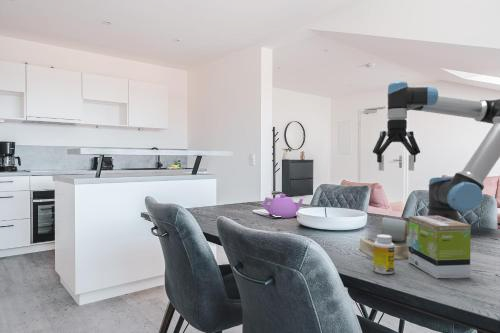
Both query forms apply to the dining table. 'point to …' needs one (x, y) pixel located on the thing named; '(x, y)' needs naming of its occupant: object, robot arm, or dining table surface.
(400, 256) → the dock
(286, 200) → the teapot
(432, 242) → the tea box
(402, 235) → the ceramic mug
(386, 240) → the supplement bottle
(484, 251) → the dining table surface
